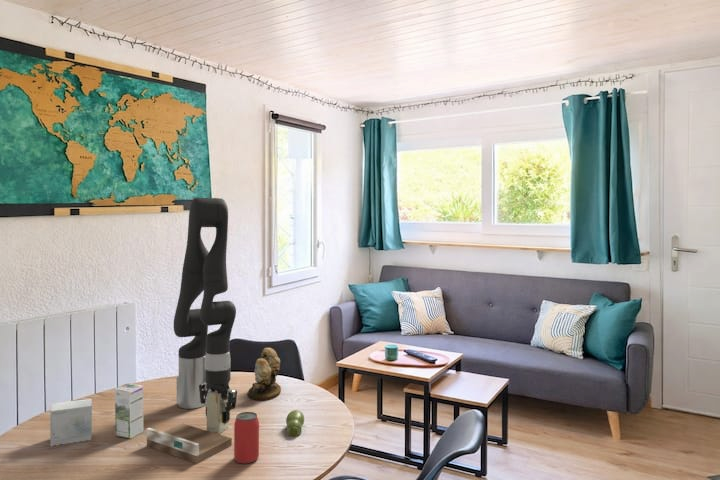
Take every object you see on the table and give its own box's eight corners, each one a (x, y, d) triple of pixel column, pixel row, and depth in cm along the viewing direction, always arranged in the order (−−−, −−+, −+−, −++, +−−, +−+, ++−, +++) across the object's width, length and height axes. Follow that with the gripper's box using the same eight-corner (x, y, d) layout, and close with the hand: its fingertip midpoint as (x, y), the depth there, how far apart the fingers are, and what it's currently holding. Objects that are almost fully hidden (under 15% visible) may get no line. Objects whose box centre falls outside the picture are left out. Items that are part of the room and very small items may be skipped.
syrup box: (144, 431, 156) (144, 384, 156) (129, 439, 151) (129, 390, 150) (129, 428, 158) (129, 382, 158) (114, 436, 153) (114, 388, 152)
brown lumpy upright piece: (253, 384, 202) (253, 341, 201) (283, 385, 202) (284, 342, 202) (244, 401, 184) (245, 353, 183) (277, 401, 184) (278, 354, 184)
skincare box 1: (50, 447, 145) (49, 410, 145) (51, 438, 151) (51, 403, 150) (92, 440, 150) (91, 404, 150) (92, 432, 156) (91, 397, 155)
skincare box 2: (219, 435, 155) (219, 395, 154) (205, 433, 156) (206, 393, 155) (228, 426, 161) (229, 388, 161) (216, 425, 162) (216, 386, 162)
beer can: (236, 453, 143) (236, 411, 143) (260, 453, 144) (260, 410, 143) (232, 465, 137) (232, 420, 136) (257, 464, 137) (257, 420, 137)
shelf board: (145, 446, 147) (145, 429, 146) (182, 429, 158) (183, 413, 158) (195, 463, 137) (195, 445, 137) (231, 445, 148) (231, 428, 148)
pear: (305, 407, 164) (302, 424, 154) (304, 422, 165) (302, 440, 155) (287, 406, 164) (283, 424, 154) (287, 422, 165) (283, 440, 155)
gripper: (191, 365, 158) (191, 419, 159) (226, 373, 151) (226, 429, 152) (210, 359, 164) (209, 411, 165) (244, 367, 157) (243, 421, 158)
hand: (217, 420), depth 158 cm, fingers open, 6 cm apart
